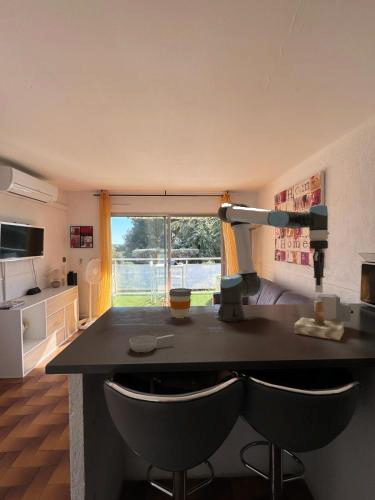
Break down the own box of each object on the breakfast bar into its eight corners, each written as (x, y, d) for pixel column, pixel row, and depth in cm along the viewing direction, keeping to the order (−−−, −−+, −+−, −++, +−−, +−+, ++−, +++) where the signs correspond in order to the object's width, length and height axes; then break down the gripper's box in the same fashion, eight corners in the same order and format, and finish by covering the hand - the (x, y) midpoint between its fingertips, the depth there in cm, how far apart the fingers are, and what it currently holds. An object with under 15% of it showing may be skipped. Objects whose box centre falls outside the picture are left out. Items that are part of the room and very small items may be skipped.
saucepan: (127, 346, 112) (126, 336, 112) (169, 339, 119) (169, 330, 119) (132, 356, 102) (132, 345, 102) (178, 348, 109) (178, 338, 109)
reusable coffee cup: (195, 315, 160) (195, 289, 160) (183, 320, 150) (183, 292, 149) (177, 312, 167) (177, 287, 167) (164, 317, 156) (164, 290, 156)
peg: (313, 332, 126) (313, 301, 126) (315, 330, 129) (315, 300, 129) (323, 334, 123) (323, 302, 123) (325, 331, 127) (324, 301, 126)
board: (294, 332, 126) (294, 323, 126) (302, 325, 137) (302, 317, 137) (339, 340, 115) (339, 330, 115) (343, 331, 127) (343, 322, 126)
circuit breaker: (354, 330, 129) (354, 297, 129) (321, 328, 132) (321, 296, 132) (349, 325, 136) (349, 294, 136) (317, 323, 140) (317, 294, 139)
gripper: (325, 239, 118) (325, 295, 118) (330, 240, 129) (330, 291, 129) (306, 240, 123) (306, 293, 123) (312, 240, 133) (313, 289, 133)
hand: (319, 292), depth 126 cm, fingers closed
